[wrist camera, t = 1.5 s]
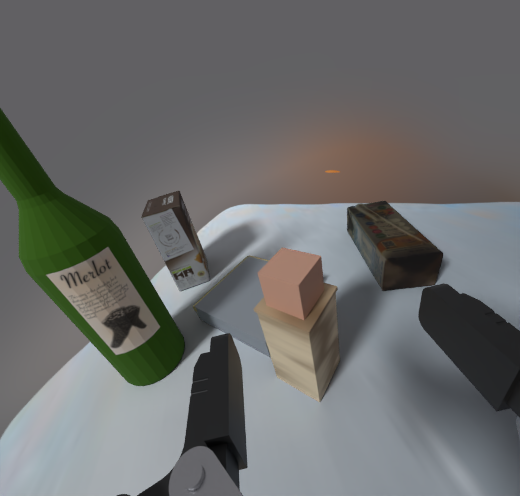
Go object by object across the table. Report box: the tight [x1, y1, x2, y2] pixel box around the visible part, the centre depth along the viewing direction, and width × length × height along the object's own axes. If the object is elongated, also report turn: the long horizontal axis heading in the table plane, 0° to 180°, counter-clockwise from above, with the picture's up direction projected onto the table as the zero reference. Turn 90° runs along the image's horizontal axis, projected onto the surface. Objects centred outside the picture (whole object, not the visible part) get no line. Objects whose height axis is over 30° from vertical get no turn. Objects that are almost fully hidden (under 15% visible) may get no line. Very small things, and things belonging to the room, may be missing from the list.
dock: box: [193, 256, 271, 357], centre depth 40 cm, size 14×14×3 cm
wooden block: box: [254, 283, 340, 402], centre depth 27 cm, size 6×6×12 cm
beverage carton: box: [347, 201, 443, 291], centre depth 43 cm, size 8×19×7 cm, turn 0°
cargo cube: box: [258, 248, 324, 320], centre depth 22 cm, size 4×4×4 cm
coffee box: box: [142, 191, 210, 291], centre depth 48 cm, size 9×6×16 cm
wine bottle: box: [0, 108, 185, 386], centre depth 28 cm, size 9×9×32 cm
